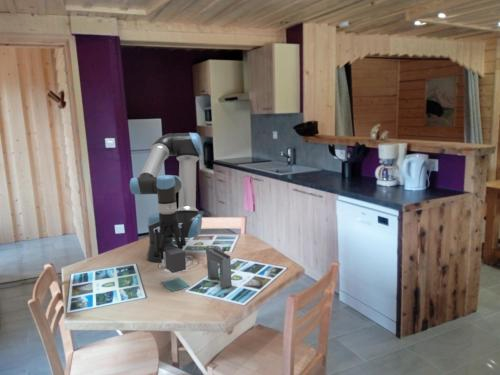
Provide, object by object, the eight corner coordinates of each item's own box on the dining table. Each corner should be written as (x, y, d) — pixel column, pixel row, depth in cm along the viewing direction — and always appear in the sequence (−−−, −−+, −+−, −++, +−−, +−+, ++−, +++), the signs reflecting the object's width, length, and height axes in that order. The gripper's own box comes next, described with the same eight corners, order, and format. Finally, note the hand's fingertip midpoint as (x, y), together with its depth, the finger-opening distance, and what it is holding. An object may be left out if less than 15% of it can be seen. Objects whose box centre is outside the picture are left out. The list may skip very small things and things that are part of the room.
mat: (161, 283, 180) (161, 282, 180) (178, 278, 185) (178, 277, 185) (172, 291, 171) (172, 290, 171) (189, 286, 176) (189, 285, 176)
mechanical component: (225, 268, 194) (224, 248, 193) (204, 267, 197) (203, 247, 195) (227, 266, 197) (226, 246, 195) (206, 265, 199) (205, 245, 198)
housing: (208, 278, 184) (206, 249, 181) (215, 275, 186) (214, 247, 184) (223, 288, 173) (222, 258, 170) (231, 285, 175) (230, 256, 173)
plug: (172, 273, 171) (171, 254, 169) (161, 265, 180) (160, 247, 178) (186, 269, 174) (184, 251, 172) (174, 262, 183) (173, 244, 182)
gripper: (149, 217, 166) (153, 271, 170) (192, 210, 176) (195, 261, 181) (142, 214, 172) (147, 266, 176) (184, 207, 182) (187, 256, 187)
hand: (171, 263), depth 178 cm, fingers closed on plug, 6 cm apart
